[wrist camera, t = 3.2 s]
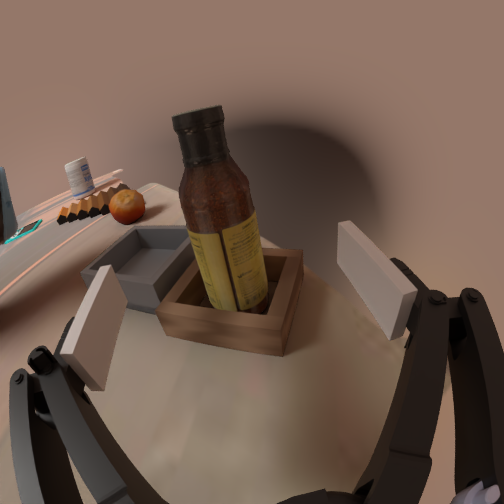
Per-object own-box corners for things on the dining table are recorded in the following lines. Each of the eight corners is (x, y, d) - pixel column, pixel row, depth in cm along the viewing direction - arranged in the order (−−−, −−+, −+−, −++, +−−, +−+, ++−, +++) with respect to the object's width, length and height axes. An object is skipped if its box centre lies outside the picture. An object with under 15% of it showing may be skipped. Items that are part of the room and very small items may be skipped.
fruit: (131, 204, 61) (132, 178, 56) (150, 223, 60) (152, 197, 54) (104, 219, 56) (101, 192, 50) (121, 240, 54) (120, 213, 49)
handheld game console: (12, 235, 71) (11, 232, 70) (43, 221, 75) (42, 217, 75) (3, 247, 63) (1, 243, 62) (35, 231, 67) (33, 228, 66)
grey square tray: (93, 299, 33) (79, 272, 30) (142, 249, 43) (134, 225, 41) (166, 316, 29) (152, 284, 26) (211, 253, 39) (205, 225, 37)
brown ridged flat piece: (141, 207, 64) (127, 190, 83) (138, 195, 62) (125, 181, 81) (54, 245, 54) (61, 218, 72) (49, 233, 52) (58, 209, 71)
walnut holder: (166, 335, 26) (154, 310, 24) (211, 268, 36) (205, 245, 34) (282, 356, 23) (280, 330, 21) (303, 275, 32) (302, 249, 30)
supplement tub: (94, 194, 87) (83, 157, 80) (72, 203, 85) (61, 166, 77) (97, 188, 95) (87, 155, 88) (76, 196, 92) (67, 163, 85)
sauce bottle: (267, 283, 32) (243, 101, 22) (272, 321, 26) (245, 100, 16) (211, 290, 32) (172, 114, 22) (207, 328, 27) (151, 119, 16)
